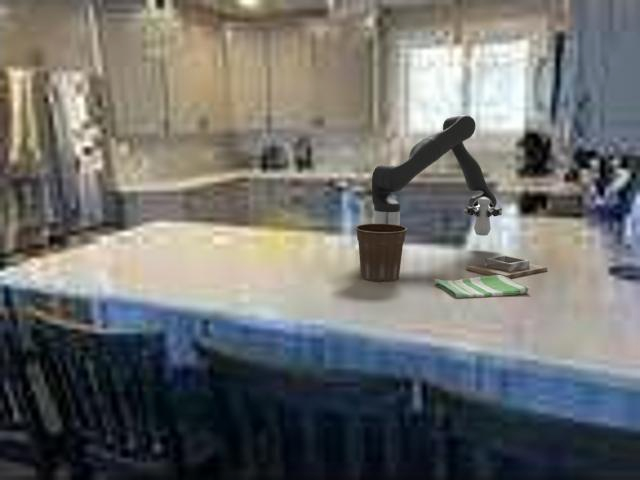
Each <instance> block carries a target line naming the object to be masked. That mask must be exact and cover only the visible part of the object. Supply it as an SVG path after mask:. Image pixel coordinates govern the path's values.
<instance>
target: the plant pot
mask: <svg viewBox="0 0 640 480" xmlns="http://www.w3.org/2000/svg"><path fill="white" fill-rule="evenodd" d="M354 229H355V231H356V239H357V241H358V254H359V268H360V269H359V272H360V277H361V279H364V280H366V281H369V282H379V283H380V282H381V281H384V282H394V281H397V280H399V279H400V272H401V263H402V255H403V249H404V247H403V246H404V242H405V239H406V233H407V231H408V227H406V226H404V225H393V224H374V223H364V224H357V225H356V226H355V227H354Z"/></svg>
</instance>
